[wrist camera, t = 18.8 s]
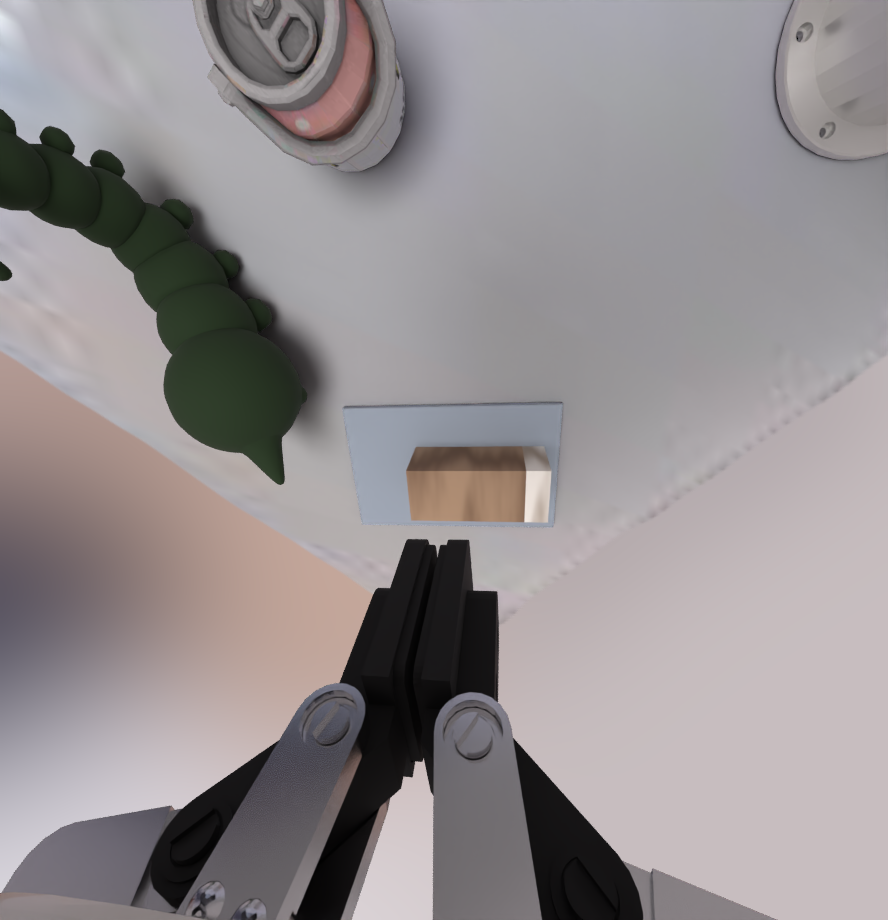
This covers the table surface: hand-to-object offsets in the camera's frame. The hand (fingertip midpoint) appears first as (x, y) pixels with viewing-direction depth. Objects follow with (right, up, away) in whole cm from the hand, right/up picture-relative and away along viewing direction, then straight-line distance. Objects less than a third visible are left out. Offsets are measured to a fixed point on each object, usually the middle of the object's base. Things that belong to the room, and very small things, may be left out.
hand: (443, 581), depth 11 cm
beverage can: (-6, +28, +17) cm, 33 cm away
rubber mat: (+1, +3, +29) cm, 29 cm away
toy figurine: (-18, +16, +25) cm, 34 cm away
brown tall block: (-3, +1, +26) cm, 26 cm away
